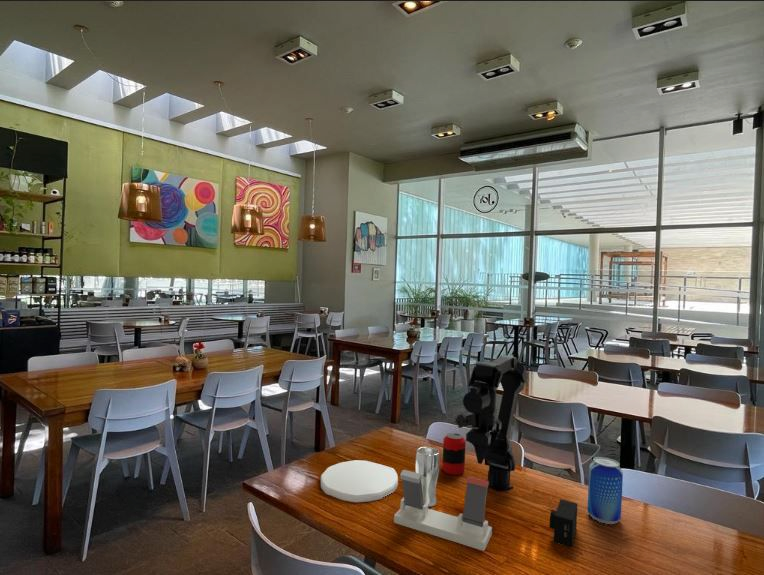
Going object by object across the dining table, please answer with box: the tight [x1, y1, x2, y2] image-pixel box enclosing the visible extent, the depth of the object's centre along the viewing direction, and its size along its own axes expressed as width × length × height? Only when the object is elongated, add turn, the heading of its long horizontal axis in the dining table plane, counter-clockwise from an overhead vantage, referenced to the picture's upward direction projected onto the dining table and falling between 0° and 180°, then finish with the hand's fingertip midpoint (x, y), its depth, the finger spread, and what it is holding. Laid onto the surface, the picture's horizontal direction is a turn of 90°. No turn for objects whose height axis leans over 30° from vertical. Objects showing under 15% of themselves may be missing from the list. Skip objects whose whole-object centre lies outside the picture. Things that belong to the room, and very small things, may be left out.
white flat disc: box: [320, 459, 399, 503], centre depth 137 cm, size 25×4×25 cm
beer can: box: [587, 456, 624, 525], centre depth 121 cm, size 8×8×16 cm
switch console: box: [393, 496, 493, 552], centre depth 113 cm, size 8×24×5 cm, turn 63°
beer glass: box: [414, 446, 440, 508], centre depth 126 cm, size 7×7×15 cm
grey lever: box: [400, 469, 424, 510], centre depth 115 cm, size 2×5×11 cm, turn 63°
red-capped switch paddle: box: [462, 476, 489, 527], centre depth 110 cm, size 2×5×11 cm, turn 63°
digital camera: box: [548, 498, 578, 548], centre depth 112 cm, size 10×5×7 cm, turn 150°
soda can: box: [441, 432, 467, 476], centre depth 149 cm, size 8×8×12 cm
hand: (483, 459), depth 127 cm, fingers open, 8 cm apart
